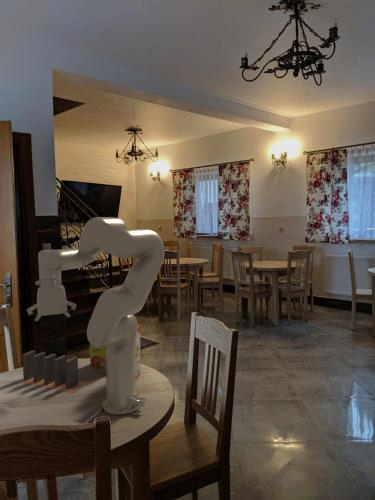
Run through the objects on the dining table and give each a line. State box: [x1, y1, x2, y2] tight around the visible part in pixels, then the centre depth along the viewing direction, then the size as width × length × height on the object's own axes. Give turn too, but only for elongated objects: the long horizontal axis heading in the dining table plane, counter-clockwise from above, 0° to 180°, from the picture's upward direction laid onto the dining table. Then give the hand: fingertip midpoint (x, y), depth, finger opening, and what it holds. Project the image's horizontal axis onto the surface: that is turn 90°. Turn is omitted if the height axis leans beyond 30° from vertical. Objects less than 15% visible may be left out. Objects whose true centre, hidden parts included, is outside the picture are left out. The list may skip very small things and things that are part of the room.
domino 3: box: [43, 353, 57, 385], centre depth 144 cm, size 2×5×10 cm, turn 158°
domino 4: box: [54, 354, 68, 387], centre depth 142 cm, size 2×5×10 cm, turn 158°
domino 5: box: [65, 356, 79, 389], centre depth 140 cm, size 2×5×10 cm, turn 158°
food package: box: [88, 319, 107, 374], centre depth 156 cm, size 15×1×20 cm, turn 42°
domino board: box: [17, 377, 89, 394], centre depth 144 cm, size 26×9×1 cm, turn 68°
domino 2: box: [33, 351, 47, 383], centre depth 146 cm, size 2×5×10 cm, turn 158°
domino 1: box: [22, 350, 37, 381], centre depth 148 cm, size 2×5×10 cm, turn 158°
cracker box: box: [135, 325, 141, 382], centre depth 144 cm, size 14×6×21 cm, turn 168°
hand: (53, 329), depth 142 cm, fingers open, 9 cm apart
